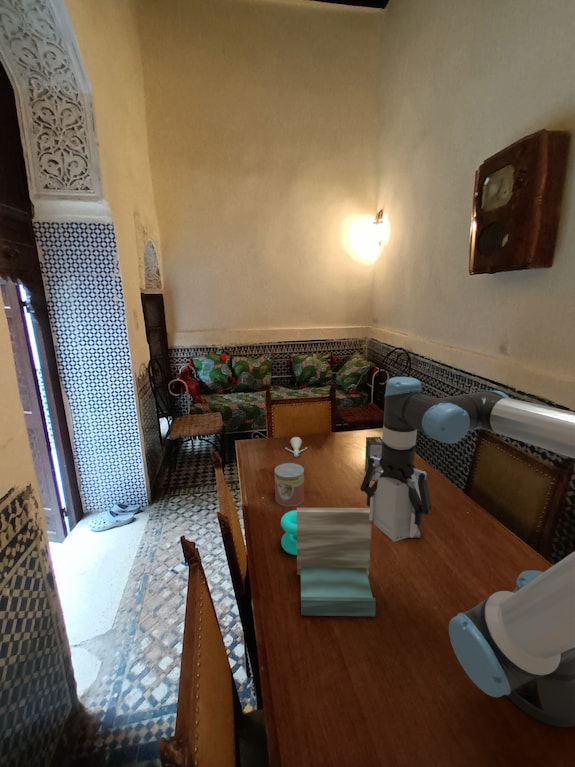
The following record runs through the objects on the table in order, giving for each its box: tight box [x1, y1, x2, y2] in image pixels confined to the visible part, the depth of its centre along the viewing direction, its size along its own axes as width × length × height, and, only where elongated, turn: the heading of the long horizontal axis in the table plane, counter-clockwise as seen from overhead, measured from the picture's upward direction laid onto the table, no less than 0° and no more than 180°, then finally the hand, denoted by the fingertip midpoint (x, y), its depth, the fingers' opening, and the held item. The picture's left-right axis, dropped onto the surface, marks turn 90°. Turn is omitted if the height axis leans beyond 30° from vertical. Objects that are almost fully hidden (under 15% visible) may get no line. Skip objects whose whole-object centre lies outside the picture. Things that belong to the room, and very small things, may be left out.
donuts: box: [280, 509, 297, 556], centre depth 111 cm, size 10×10×10 cm
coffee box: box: [364, 436, 383, 481], centre depth 153 cm, size 9×6×16 cm
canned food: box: [273, 462, 305, 507], centre depth 137 cm, size 11×11×12 cm
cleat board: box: [296, 507, 377, 617], centre depth 92 cm, size 15×20×20 cm
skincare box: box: [373, 471, 415, 543], centre depth 88 cm, size 8×6×15 cm
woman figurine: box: [284, 436, 308, 458], centre depth 181 cm, size 12×4×18 cm
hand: (392, 525), depth 89 cm, fingers closed on skincare box, 10 cm apart
